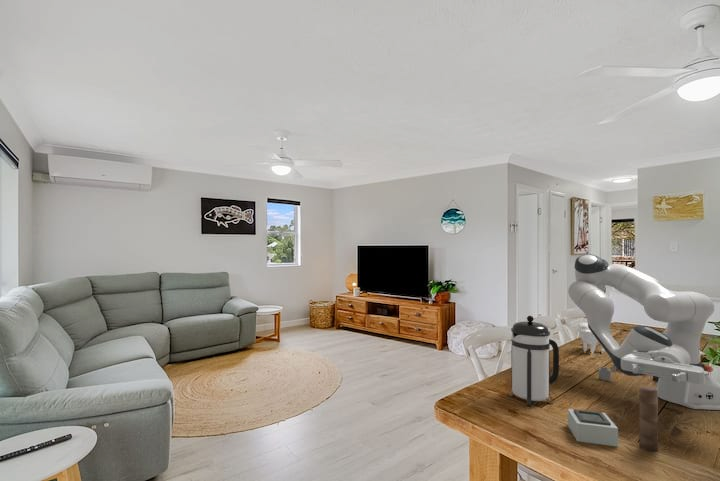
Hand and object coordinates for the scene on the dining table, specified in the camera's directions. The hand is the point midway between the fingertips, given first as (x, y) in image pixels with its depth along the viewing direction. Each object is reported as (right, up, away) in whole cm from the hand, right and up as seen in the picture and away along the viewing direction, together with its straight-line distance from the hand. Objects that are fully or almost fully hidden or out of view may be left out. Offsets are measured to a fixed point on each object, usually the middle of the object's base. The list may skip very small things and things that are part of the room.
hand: (654, 374), depth 110 cm
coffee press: (-25, -18, +24) cm, 39 cm away
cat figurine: (+35, -20, +86) cm, 95 cm away
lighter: (+16, -19, +44) cm, 50 cm away
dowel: (-8, -17, -8) cm, 21 cm away
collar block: (-20, -17, -2) cm, 26 cm away
